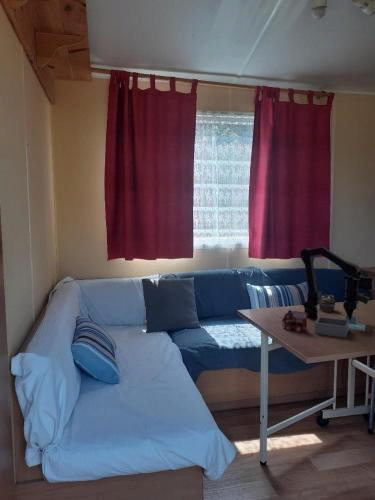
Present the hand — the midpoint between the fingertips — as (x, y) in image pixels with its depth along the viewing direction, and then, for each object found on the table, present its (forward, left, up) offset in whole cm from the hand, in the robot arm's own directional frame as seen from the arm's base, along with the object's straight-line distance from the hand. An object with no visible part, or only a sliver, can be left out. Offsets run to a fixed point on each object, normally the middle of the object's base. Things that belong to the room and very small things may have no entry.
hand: (350, 317), depth 188 cm
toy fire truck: (-24, -24, -4) cm, 34 cm away
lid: (0, -5, -4) cm, 7 cm away
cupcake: (-15, +25, -4) cm, 29 cm away
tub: (-7, -20, -4) cm, 22 cm away
